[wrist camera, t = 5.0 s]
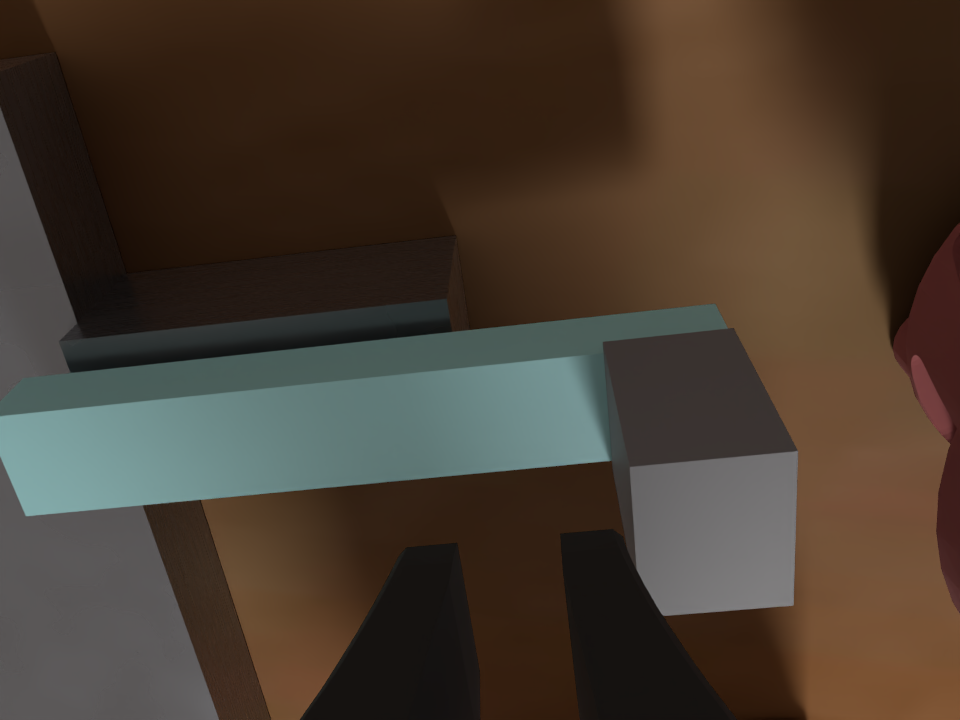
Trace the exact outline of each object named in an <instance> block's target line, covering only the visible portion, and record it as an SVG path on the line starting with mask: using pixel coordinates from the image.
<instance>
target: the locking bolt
mask: <svg viewBox="0 0 960 720" xmlns="http://www.w3.org/2000/svg"><path fill="white" fill-rule="evenodd" d="M0 457H1V459H2V462H3V464H4V466H5V469H6V471H7V473H8V476H9V478H10V480H11V483H12V485H13V487H14V490H15V492H16V494H17V497H18V499H19V501H20V504H21V506H22V508H23V511H24V513H25V515H26V516H34V515H45V514H55V513H66V512H76V511H87V510H98V509H108V508H119V507H129V506H140V505H150V504H161V503H171V502H182V501H192V500H203V499H213V498H224V497H235V496H245V495H256V494H266V493H277V492H287V491H298V490H308V489H319V488H329V487H340V486H350V485H361V484H372V483H382V482H393V481H403V480H414V479H424V478H435V477H445V476H456V475H466V474H477V473H487V472H498V471H509V470H519V469H530V468H540V467H551V466H561V465H572V464H582V463H593V462H603V461H612V467H613V475H614V480H615V486H616V491H617V496H618V502H619V507H620V513H621V518H622V523H623V529H624V534H625V540H626V545H627V550H628V552H629V555H630V557H631V559H632V561H633V563H634V565H635V568H636V570H637V572H638V573H639V575H640V577H641V579H642V581H643V583H644V585H645V586H646V588H647V590H648V592H649V593H650V595H651V597H652V599H653V600H654V602H655V604H656V606H657V607H658V609H659V610H660V612H661V614H662V615H663V616H670V615H683V614H695V613H707V612H720V611H732V610H744V609H757V608H769V607H781V606H793V605H794V570H795V535H796V500H797V465H798V450H797V448H796V447H795V445H794V443H793V441H792V439H791V437H790V435H789V433H788V431H787V429H786V427H785V426H784V424H783V422H782V420H781V418H780V416H779V414H778V412H777V410H776V408H775V406H774V405H773V403H772V401H771V399H770V397H769V395H768V393H767V391H766V389H765V387H764V385H763V384H762V382H761V380H760V378H759V376H758V374H757V372H756V370H755V368H754V366H753V364H752V363H751V361H750V359H749V357H748V355H747V353H746V351H745V349H744V347H743V345H742V343H741V341H740V340H739V338H738V336H737V334H736V332H735V330H734V328H729V329H728V328H727V326H726V324H725V322H724V320H723V318H722V316H721V314H720V312H719V310H718V308H717V306H716V304H708V305H698V306H689V307H680V308H670V309H661V310H652V311H643V312H633V313H624V314H615V315H605V316H596V317H587V318H578V319H568V320H559V321H550V322H540V323H531V324H522V325H513V326H503V327H494V328H485V329H475V330H466V331H457V332H447V333H438V334H429V335H420V336H410V337H401V338H392V339H382V340H373V341H364V342H355V343H345V344H336V345H327V346H317V347H308V348H299V349H290V350H280V351H271V352H262V353H252V354H243V355H234V356H224V357H215V358H206V359H197V360H187V361H178V362H169V363H159V364H150V365H141V366H132V367H122V368H113V369H104V370H94V371H85V372H76V373H67V374H57V375H48V376H39V377H29V378H23V379H22V380H21V381H20V382H19V383H18V384H17V385H16V386H15V387H14V388H13V389H12V390H11V391H10V392H9V393H8V394H7V395H6V396H5V397H4V398H3V399H2V400H1V401H0Z"/></svg>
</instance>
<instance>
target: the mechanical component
mask: <svg viewBox="0 0 960 720" xmlns="http://www.w3.org/2000/svg"><path fill="white" fill-rule="evenodd" d="M893 351H894V356H895V359H896V360H897V362H898V363H899V365H900V366H901V368H902V369H903V370H904V371H905V372H906V374H907V375H908V376H909V377H910V380H911V384H912V387H913V390H914V393H915V396H916V398H917V400H918V402H919V403H920V405H921V407H922V408H923V410H924V412H925V414H926V415H927V417H928V419H929V420H930V421H931V422H932V424H933V425H934V426H935V427H936V429H937V430H938V431H939V432H940V433H941V434H942V436H943V437H944V438H945V439H946V440H947V441H948V442H949V443H950V444H951V445H950V447H949V450H948V454H947V458H946V462H945V467H944V471H943V475H942V479H941V484H940V488H939V493H938V511H937V528H936V533H937V541H938V548H939V556H940V563H941V569H942V572H943V575H944V578H945V581H946V584H947V587H948V590H949V593H950V596H951V598H952V601H953V603H954V605H955V607H956V608H957V610H958V612H959V613H960V223H959V224H958V225H957V226H956V227H955V228H954V229H953V231H952V232H951V233H950V235H949V236H948V238H947V239H946V240H945V242H944V243H943V244H942V246H941V247H940V249H939V250H938V251H937V253H936V254H935V255H934V257H933V259H932V261H931V263H930V265H929V267H928V269H927V271H926V272H925V274H924V276H923V278H922V280H921V282H920V284H919V286H918V289H917V292H916V296H915V299H914V302H913V305H912V308H911V311H910V315H909V318H907V319H906V321H905V322H904V323H903V324H902V325H901V326H900V327H899V329H898V332H897V334H896V336H895V338H894V345H893Z"/></svg>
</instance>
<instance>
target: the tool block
mask: <svg viewBox="0 0 960 720" xmlns="http://www.w3.org/2000/svg"><path fill="white" fill-rule="evenodd" d="M466 330H470V326H469V320H468V313H467V306H466V299H465V293H464V286H463V279H462V273H461V266H460V259H459V252H458V246H457V239H456V235H455V236H446V237H438V238H429V239H420V240H412V241H403V242H395V243H386V244H377V245H369V246H360V247H352V248H343V249H334V250H326V251H317V252H309V253H300V254H291V255H283V256H274V257H266V258H257V259H248V260H240V261H231V262H222V263H214V264H205V265H197V266H188V267H179V268H171V269H162V270H154V271H145V272H136V273H128V274H127V273H126V270H125V267H124V264H123V261H122V258H121V255H120V251H119V248H118V245H117V242H116V239H115V236H114V233H113V230H112V227H111V224H110V220H109V217H108V214H107V211H106V208H105V205H104V202H103V199H102V196H101V193H100V189H99V186H98V183H97V180H96V177H95V174H94V171H93V168H92V165H91V162H90V159H89V155H88V152H87V149H86V146H85V143H84V140H83V137H82V134H81V131H80V128H79V124H78V121H77V118H76V115H75V112H74V109H73V106H72V103H71V100H70V97H69V93H68V90H67V87H66V84H65V81H64V78H63V75H62V72H61V69H60V66H59V62H58V59H57V56H56V53H55V52H53V53H45V54H38V55H31V56H24V57H16V58H9V59H2V60H0V401H1V400H2V399H3V398H4V397H5V396H6V395H7V394H8V393H9V392H10V391H11V390H12V389H13V388H14V387H15V386H16V385H17V384H18V383H19V382H20V381H21V380H22V379H23V378H29V377H39V376H48V375H57V374H67V373H76V372H85V371H94V370H104V369H113V368H122V367H132V366H141V365H150V364H159V363H169V362H178V361H187V360H197V359H206V358H215V357H224V356H234V355H243V354H252V353H262V352H271V351H280V350H290V349H299V348H308V347H317V346H327V345H336V344H345V343H355V342H364V341H373V340H382V339H392V338H401V337H410V336H420V335H429V334H438V333H447V332H457V331H466ZM0 720H271V719H270V716H269V713H268V710H267V707H266V704H265V701H264V698H263V695H262V691H261V688H260V685H259V682H258V679H257V676H256V673H255V670H254V667H253V664H252V660H251V657H250V654H249V651H248V648H247V645H246V642H245V639H244V636H243V633H242V629H241V626H240V623H239V620H238V617H237V614H236V611H235V608H234V605H233V602H232V598H231V595H230V592H229V589H228V586H227V583H226V580H225V577H224V574H223V571H222V567H221V564H220V561H219V558H218V555H217V552H216V549H215V546H214V543H213V540H212V537H211V533H210V530H209V527H208V524H207V521H206V518H205V515H204V512H203V509H202V506H201V502H200V500H192V501H182V502H171V503H161V504H150V505H140V506H129V507H119V508H108V509H98V510H87V511H76V512H66V513H55V514H45V515H34V516H26V515H25V513H24V511H23V508H22V506H21V504H20V501H19V499H18V497H17V494H16V492H15V490H14V487H13V485H12V483H11V480H10V478H9V476H8V473H7V471H6V469H5V466H4V464H3V462H2V459H1V457H0Z"/></svg>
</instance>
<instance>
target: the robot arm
mask: <svg viewBox="0 0 960 720" xmlns="http://www.w3.org/2000/svg"><path fill="white" fill-rule="evenodd" d="M560 535H561V550H562V564H563V576H564V585H565V593H566V602H567V611H568V620H569V629H570V637H571V646H572V655H573V664H574V673H575V681H576V690H577V699H578V708H579V717H580V720H737V719H736V718H735V716H734V715H733V714H732V712H731V711H730V710H729V709H728V707H727V706H726V705H725V703H724V702H723V701H722V700H721V698H720V697H719V696H718V694H717V693H716V692H715V691H714V689H713V688H712V687H711V685H710V684H709V683H708V681H707V680H706V678H705V677H704V676H703V674H702V673H701V672H700V670H699V669H698V667H697V666H696V665H695V663H694V662H693V660H692V659H691V657H690V656H689V654H688V653H687V651H686V650H685V649H684V647H683V646H682V644H681V643H680V641H679V640H678V638H677V637H676V635H675V634H674V632H673V631H672V629H671V628H670V626H669V625H668V623H667V622H666V620H665V618H664V617H663V615H662V614H661V612H660V610H659V609H658V607H657V606H656V604H655V602H654V600H653V599H652V597H651V595H650V593H649V592H648V590H647V588H646V586H645V585H644V583H643V581H642V579H641V577H640V575H639V573H638V572H637V570H636V568H635V565H634V563H633V561H632V559H631V557H630V555H629V552H628V550H627V548H626V545H625V542H624V539H623V537H622V536H621V535H620V534H618V533H617V532H616V531H614V530H613V529H609V530H597V531H586V532H575V533H564V534H560ZM300 720H480V670H479V665H478V659H477V653H476V648H475V642H474V636H473V631H472V625H471V619H470V613H469V608H468V602H467V596H466V591H465V585H464V579H463V574H462V568H461V562H460V556H459V551H458V545H457V543H451V544H440V545H429V546H417V547H407V548H406V549H405V550H404V551H403V552H402V553H401V554H400V555H399V557H398V559H397V561H396V563H395V565H394V567H393V569H392V571H391V573H390V575H389V576H388V578H387V580H386V582H385V584H384V586H383V588H382V590H381V591H380V593H379V595H378V597H377V599H376V601H375V602H374V604H373V606H372V608H371V609H370V611H369V613H368V615H367V616H366V618H365V620H364V621H363V623H362V625H361V627H360V628H359V630H358V632H357V633H356V635H355V637H354V638H353V640H352V641H351V643H350V645H349V646H348V648H347V649H346V651H345V653H344V654H343V656H342V657H341V659H340V661H339V662H338V664H337V665H336V667H335V669H334V670H333V672H332V673H331V675H330V677H329V678H328V680H327V681H326V683H325V684H324V686H323V687H322V689H321V690H320V692H319V693H318V695H317V696H316V697H315V699H314V700H313V702H312V703H311V705H310V706H309V707H308V709H307V710H306V712H305V713H304V714H303V716H302V717H301V719H300Z"/></svg>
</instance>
